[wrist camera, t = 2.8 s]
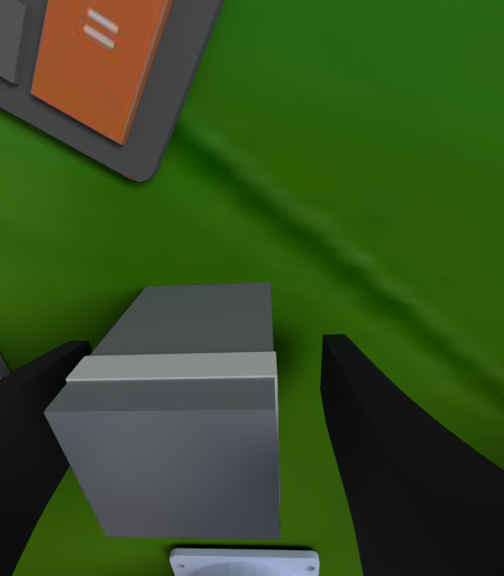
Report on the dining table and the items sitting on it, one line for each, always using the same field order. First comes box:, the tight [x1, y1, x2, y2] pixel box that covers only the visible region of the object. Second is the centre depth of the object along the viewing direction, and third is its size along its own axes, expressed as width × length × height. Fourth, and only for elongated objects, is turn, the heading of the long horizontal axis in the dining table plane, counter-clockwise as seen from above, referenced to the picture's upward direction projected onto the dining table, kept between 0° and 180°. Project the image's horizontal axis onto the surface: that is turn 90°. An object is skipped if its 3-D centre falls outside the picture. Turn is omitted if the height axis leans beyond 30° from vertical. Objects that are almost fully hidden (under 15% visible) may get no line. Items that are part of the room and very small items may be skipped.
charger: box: [44, 282, 281, 539], centre depth 8 cm, size 4×4×5 cm
